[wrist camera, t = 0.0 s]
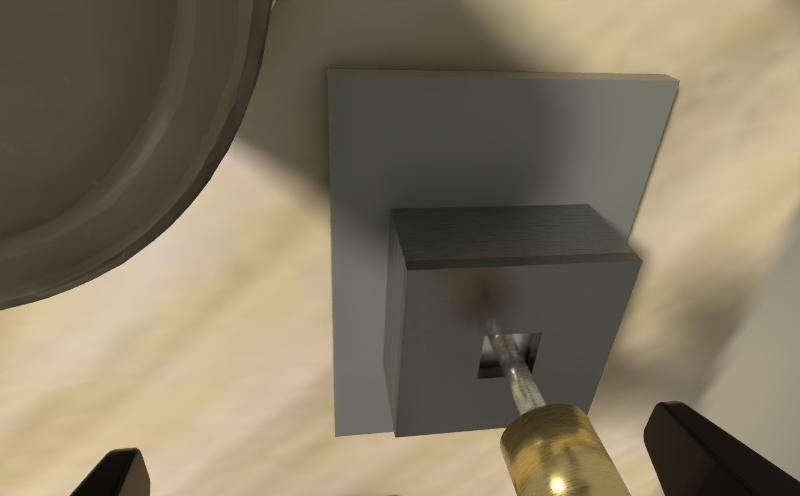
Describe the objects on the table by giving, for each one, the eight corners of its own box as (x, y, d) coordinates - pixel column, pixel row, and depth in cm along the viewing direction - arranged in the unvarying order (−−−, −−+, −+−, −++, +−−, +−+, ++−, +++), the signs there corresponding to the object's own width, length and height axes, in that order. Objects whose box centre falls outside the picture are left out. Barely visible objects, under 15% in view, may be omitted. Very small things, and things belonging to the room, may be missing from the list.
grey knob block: (547, 351, 28) (585, 420, 24) (382, 362, 27) (395, 437, 23) (588, 204, 24) (642, 260, 20) (390, 208, 22) (407, 270, 18)
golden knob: (530, 361, 24) (621, 544, 17) (453, 366, 23) (515, 557, 16) (546, 298, 22) (655, 475, 15) (462, 302, 21) (536, 489, 14)
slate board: (561, 403, 32) (568, 416, 32) (334, 422, 30) (335, 436, 30) (665, 74, 22) (679, 81, 21) (327, 68, 20) (327, 75, 19)
